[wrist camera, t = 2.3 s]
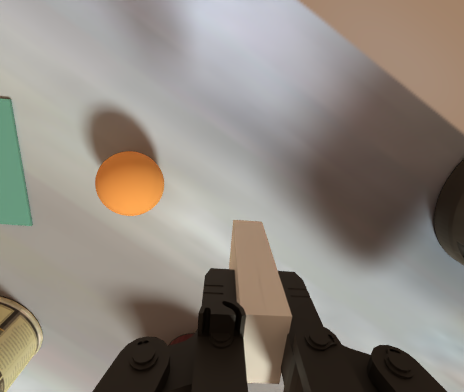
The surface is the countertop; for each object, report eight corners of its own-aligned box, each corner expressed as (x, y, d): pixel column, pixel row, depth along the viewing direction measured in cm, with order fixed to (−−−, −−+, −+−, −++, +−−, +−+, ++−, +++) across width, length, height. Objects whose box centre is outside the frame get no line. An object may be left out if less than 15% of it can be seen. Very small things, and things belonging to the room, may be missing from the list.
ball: (170, 149, 25) (154, 161, 20) (169, 204, 27) (155, 228, 21) (109, 144, 25) (78, 155, 19) (113, 200, 26) (85, 224, 21)
